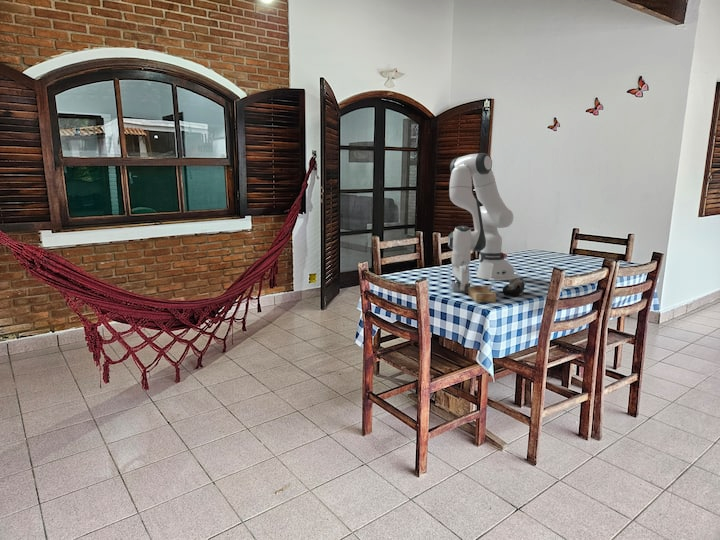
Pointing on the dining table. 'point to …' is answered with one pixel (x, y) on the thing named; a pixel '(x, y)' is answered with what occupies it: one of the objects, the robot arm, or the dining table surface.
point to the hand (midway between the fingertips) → (459, 287)
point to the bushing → (489, 287)
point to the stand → (481, 294)
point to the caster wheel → (514, 287)
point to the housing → (457, 284)
